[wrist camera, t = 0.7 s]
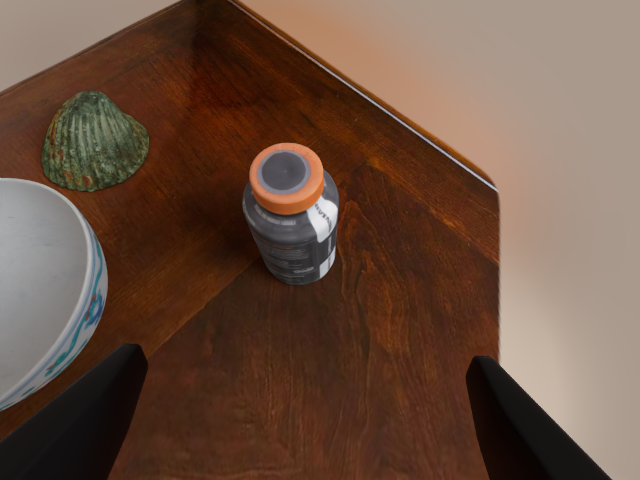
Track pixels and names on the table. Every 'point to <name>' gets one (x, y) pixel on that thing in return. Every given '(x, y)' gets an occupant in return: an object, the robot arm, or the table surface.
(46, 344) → the chinaware
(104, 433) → the robot arm
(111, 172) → the seashell
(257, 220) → the pill bottle
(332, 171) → the table surface
